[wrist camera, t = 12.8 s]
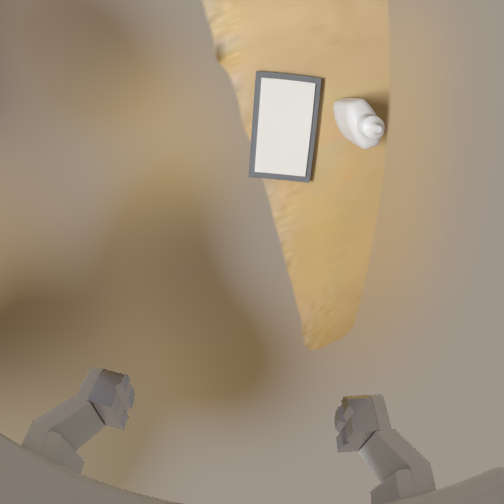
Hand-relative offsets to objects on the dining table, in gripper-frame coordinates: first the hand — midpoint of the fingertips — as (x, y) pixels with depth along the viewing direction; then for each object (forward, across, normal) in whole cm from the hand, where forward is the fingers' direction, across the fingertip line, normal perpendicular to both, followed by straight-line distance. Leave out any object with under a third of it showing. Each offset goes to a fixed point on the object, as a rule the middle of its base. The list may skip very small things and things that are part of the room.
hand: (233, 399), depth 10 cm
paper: (+33, -2, -6) cm, 34 cm away
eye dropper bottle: (+33, -10, -8) cm, 36 cm away
